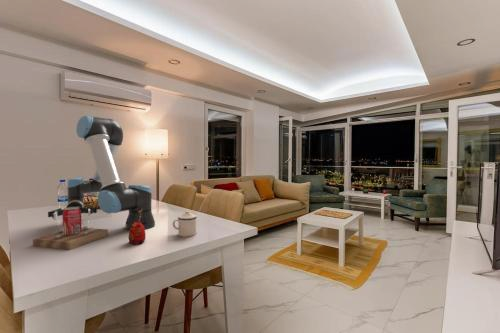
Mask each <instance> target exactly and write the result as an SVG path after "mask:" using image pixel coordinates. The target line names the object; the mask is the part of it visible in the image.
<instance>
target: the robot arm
mask: <svg viewBox="0 0 500 333" xmlns="http://www.w3.org/2000/svg"><path fill="white" fill-rule="evenodd" d="M76 135H77V136H78V137H79V138H81V139H83V140H84V143H85V144H86V145H88V146H89V148H90V151H91V155H92V157H93V160H94V163H95V171H94V173H93V176H92V180H84V179H83V177H76V178H69V179H67V185H66V187H67V206H66V207H65V208H68V207H79V209H80V210H81V214H88V216H87V217H89V218H90V217H91V215H93V214H97V213H98V210H97V209H98V208H97V207H93V206H90V205H88V206H85V203H84V195H85V194H90V193H91V194H92V193H94V194H95V193H98V194H97V199H96V200H97V201H96V202H97V204H98V207H99V209H100V210H101V211H102V212H103V213H106V214H118V213H121V212H125V211H128V216H127V217H126V221H125V225H124V227H125V229H126V230H129V231H130V229H131V227H132V224H133V223H134V222H138V221H139V219H140V222H141V224H142V225H143V226H144V229H145V230H146V229H147V230H148V229H150V228H151V229H152V228H154V227H155V226H156V222H155V221H156V220H155V217H154V215H153V212H152V193H153V192H152V187H151V186H150V185H141V184H140V185H138V184H128V187H127V186H126V184H125V182H123V181H121V179H120V176H119V172H118V170H117V169H118V168H117V165H116V163H115V157H116V155H117V152H118V149H119V147H120V146H121V145H122V143H123V140H124V132H123V128H122V126H121V125H120V123H119V122H117V121H116V120H114V119H112V118H106V117H96V116H93V115H83V116H81V117H80V118H79V119H78V122H77V124H76ZM84 206H85V207H84ZM65 208H64V209H65ZM64 209H63V208H61V207H60V208H57V209H54V210H50V211H48V212H47V218H52V219H53V221H55V220H57V218H58V217H60V216H63V211H64ZM141 210H142V212H141V218H139V217H140V213H138V212H139V211H141Z"/></svg>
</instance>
